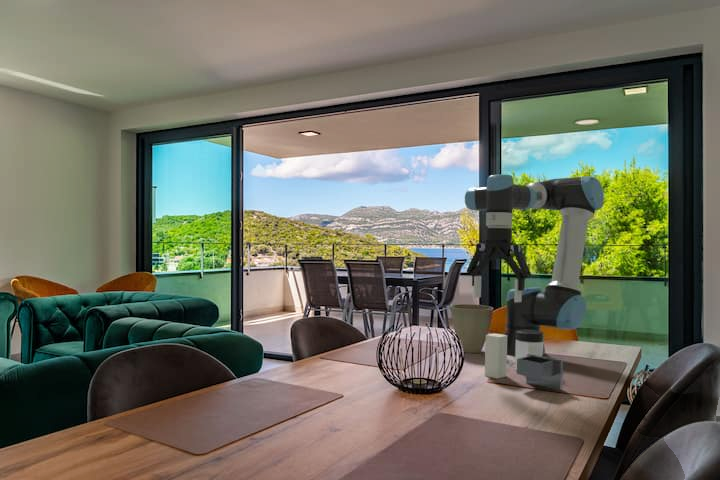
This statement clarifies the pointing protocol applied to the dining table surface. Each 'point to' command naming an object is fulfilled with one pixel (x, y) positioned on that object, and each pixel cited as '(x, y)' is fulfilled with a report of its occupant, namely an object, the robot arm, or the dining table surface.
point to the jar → (528, 344)
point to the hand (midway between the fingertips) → (496, 299)
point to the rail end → (496, 355)
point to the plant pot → (471, 325)
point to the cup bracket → (541, 371)
